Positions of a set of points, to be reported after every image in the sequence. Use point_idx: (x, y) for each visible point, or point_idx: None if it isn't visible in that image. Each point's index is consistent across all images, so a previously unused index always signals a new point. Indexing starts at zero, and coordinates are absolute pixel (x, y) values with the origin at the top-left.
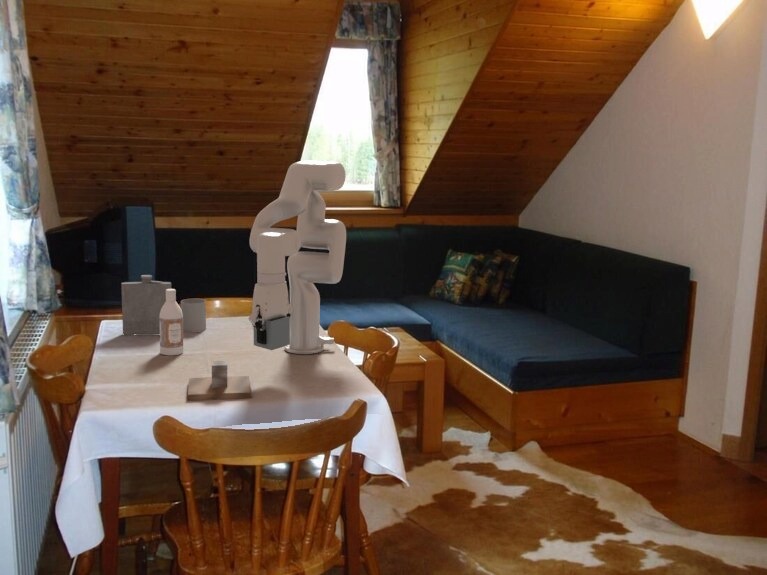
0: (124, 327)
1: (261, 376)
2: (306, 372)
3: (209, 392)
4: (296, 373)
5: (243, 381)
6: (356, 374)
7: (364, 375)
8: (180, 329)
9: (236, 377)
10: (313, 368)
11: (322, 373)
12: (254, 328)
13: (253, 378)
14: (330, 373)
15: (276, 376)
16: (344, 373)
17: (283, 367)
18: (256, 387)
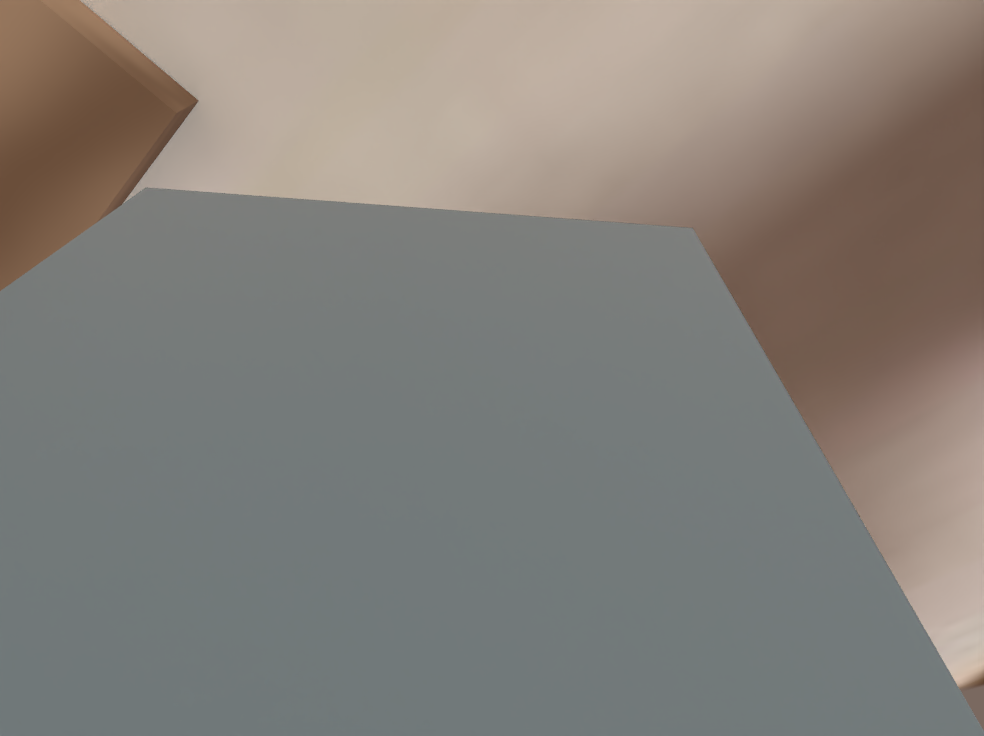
0: None
1: (426, 83)
2: (819, 349)
3: None
4: (739, 299)
5: (10, 208)
6: (957, 641)
7: (957, 683)
8: None
9: (16, 31)
10: (980, 320)
11: (861, 465)
12: None
13: (308, 63)
14: (893, 508)
15: (534, 213)
16: (944, 577)
17: (873, 38)
18: None
